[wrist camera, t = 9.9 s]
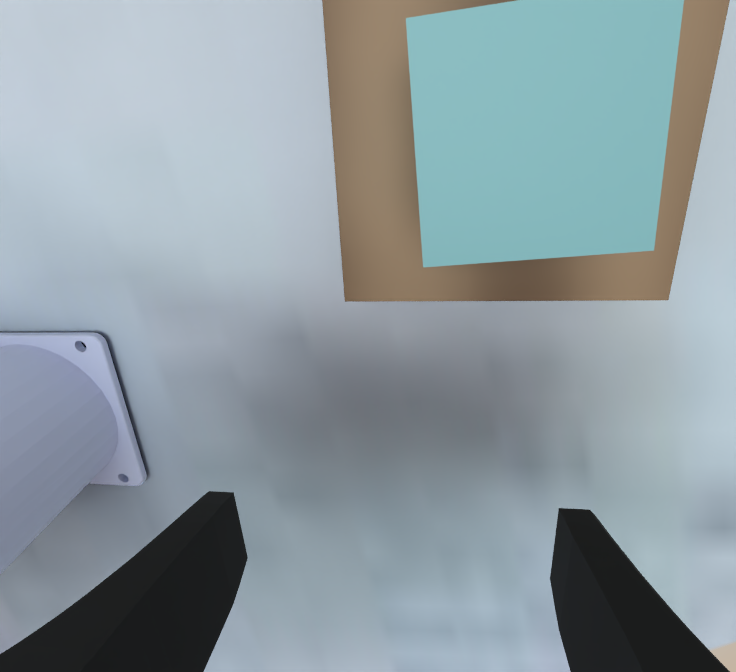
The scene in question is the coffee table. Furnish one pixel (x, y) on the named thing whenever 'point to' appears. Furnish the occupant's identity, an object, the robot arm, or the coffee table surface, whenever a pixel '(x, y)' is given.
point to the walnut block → (399, 177)
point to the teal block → (541, 127)
